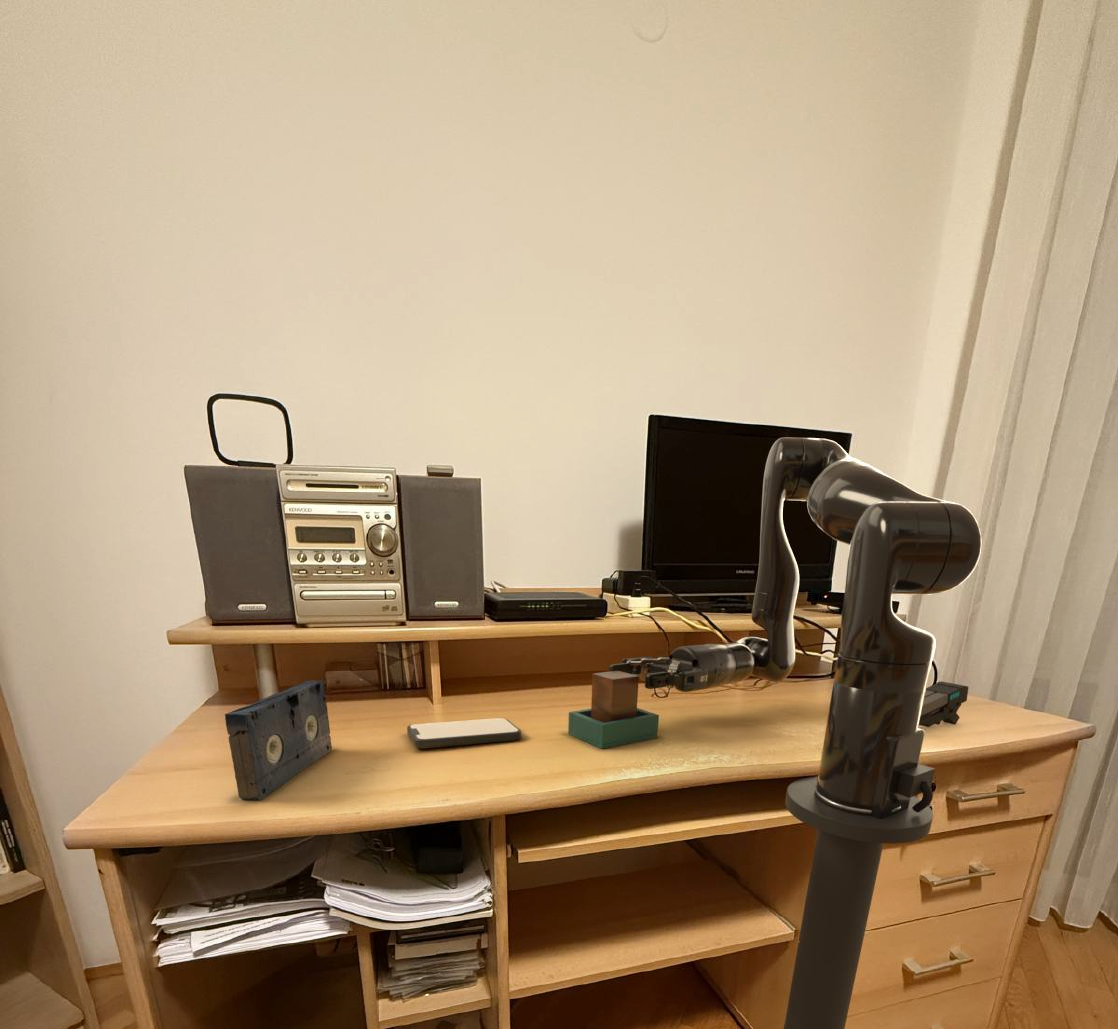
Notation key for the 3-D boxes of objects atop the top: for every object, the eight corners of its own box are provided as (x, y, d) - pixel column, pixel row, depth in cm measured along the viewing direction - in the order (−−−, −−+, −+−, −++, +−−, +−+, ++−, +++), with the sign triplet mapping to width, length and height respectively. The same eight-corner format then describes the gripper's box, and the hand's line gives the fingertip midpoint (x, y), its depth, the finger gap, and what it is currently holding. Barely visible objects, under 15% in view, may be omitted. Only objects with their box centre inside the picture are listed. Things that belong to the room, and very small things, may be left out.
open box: (657, 737, 91) (659, 714, 90) (601, 749, 85) (602, 725, 84) (622, 724, 98) (623, 703, 97) (568, 734, 92) (568, 712, 91)
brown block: (635, 733, 91) (639, 676, 88) (610, 738, 88) (613, 679, 85) (615, 725, 95) (617, 670, 92) (590, 730, 92) (592, 673, 89)
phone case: (505, 726, 96) (406, 734, 90) (505, 716, 96) (405, 723, 90) (523, 742, 89) (416, 751, 83) (524, 731, 88) (416, 740, 82)
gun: (968, 722, 101) (970, 669, 96) (893, 776, 94) (891, 722, 90) (942, 716, 104) (942, 664, 100) (867, 767, 98) (864, 715, 93)
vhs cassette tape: (316, 748, 83) (307, 679, 80) (336, 749, 83) (328, 680, 80) (233, 800, 66) (219, 714, 63) (258, 801, 66) (245, 715, 63)
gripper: (672, 639, 103) (600, 645, 94) (738, 650, 92) (662, 659, 83) (669, 681, 106) (598, 691, 97) (732, 697, 94) (658, 710, 86)
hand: (628, 676), depth 90 cm, fingers open, 8 cm apart
